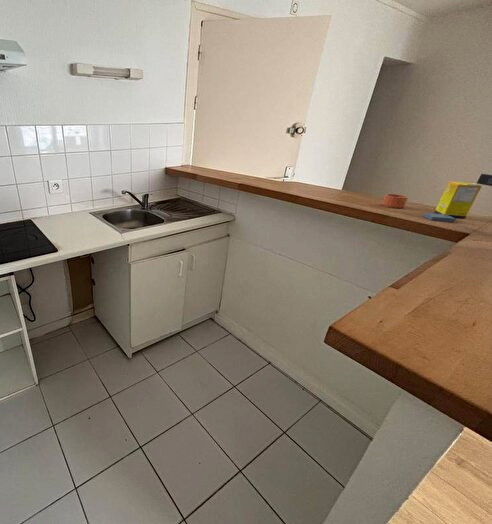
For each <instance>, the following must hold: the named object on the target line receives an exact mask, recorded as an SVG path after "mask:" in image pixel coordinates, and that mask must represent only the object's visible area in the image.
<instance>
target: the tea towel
mask: <svg viewBox="0 0 492 524" xmlns="http://www.w3.org/2000/svg"><path fill="white" fill-rule="evenodd" d="M423 217H424V218H426V219H427V220H430V221H435V222H436V221H437V222H445V223H446V222H447V223H455V222H456V220H457V218H456V217H451V216H449V215H446V214H437V213H435V212H433V213H431V212H424V214H423Z"/></svg>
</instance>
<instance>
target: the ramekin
mask: <svg viewBox="0 0 492 524" xmlns="http://www.w3.org/2000/svg"><path fill="white" fill-rule="evenodd" d="M408 200H409V196H408V195H403V194H399V193H386V194H385V195H384V198H383V200H382V202H381V203H382V205H383V206H384V207H386V208H390V209H403V208H405V207H406V204H407V202H408Z"/></svg>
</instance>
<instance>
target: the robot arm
mask: <svg viewBox="0 0 492 524" xmlns="http://www.w3.org/2000/svg"><path fill="white" fill-rule="evenodd" d="M476 184H479V185H482V186H489V187H492V174H486V173H481V174H480V175H479V178H478V180H477V181H476Z"/></svg>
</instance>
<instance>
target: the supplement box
mask: <svg viewBox="0 0 492 524" xmlns="http://www.w3.org/2000/svg"><path fill="white" fill-rule="evenodd" d="M482 186H483V185H482V184H477V183H474V182H471V181H469V182H468V181H451V180H450V181H448V182H447V184H446V186H445V189H444V191H443V193H442V195H441V197H440V200H439V201H438V204H437V206H436V208H435V210H434V214H446V215H449V216H451V217H453V218H456V219H458V218H460V219H466V218H467V216H468V213H469V212H470V211H471V208H472V206H473V203H475V200H476V199H477V196H478V194H479V192H480V191H481V188H483V187H482Z"/></svg>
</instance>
